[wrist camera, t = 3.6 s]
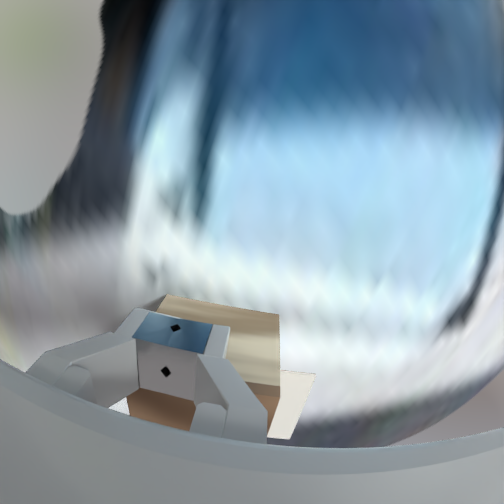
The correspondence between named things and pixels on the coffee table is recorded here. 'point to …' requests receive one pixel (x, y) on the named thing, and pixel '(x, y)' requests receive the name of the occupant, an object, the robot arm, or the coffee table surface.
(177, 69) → the coffee table surface
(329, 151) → the coffee table surface
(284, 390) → the pad
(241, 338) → the block
